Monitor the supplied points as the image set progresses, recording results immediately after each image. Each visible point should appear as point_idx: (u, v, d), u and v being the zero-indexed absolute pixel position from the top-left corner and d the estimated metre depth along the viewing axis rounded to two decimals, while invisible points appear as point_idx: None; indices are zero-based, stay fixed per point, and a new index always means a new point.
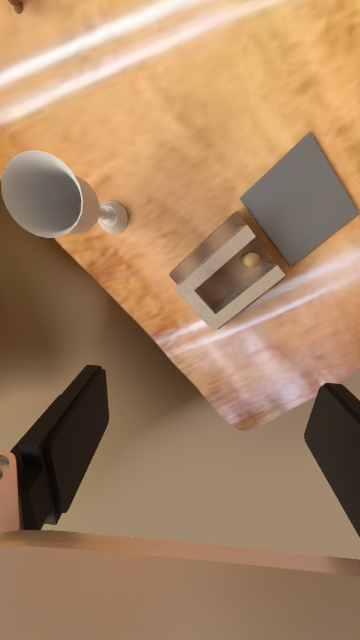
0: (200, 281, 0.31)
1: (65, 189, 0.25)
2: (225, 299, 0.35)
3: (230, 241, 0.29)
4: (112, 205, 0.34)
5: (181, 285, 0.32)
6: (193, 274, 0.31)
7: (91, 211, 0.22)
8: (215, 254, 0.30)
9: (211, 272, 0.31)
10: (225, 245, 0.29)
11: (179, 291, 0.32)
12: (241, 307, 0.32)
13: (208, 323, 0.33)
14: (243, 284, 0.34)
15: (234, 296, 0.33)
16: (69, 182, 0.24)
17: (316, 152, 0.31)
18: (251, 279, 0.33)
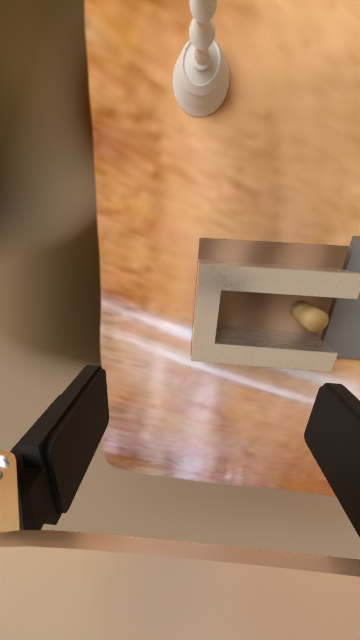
0: (240, 286, 0.18)
1: None
2: (236, 333, 0.22)
3: (327, 274, 0.17)
4: (222, 55, 0.17)
5: (212, 267, 0.17)
6: (242, 269, 0.17)
7: None
8: (294, 272, 0.17)
9: (265, 289, 0.18)
10: (316, 273, 0.17)
11: (202, 272, 0.18)
12: (251, 362, 0.20)
13: (195, 346, 0.20)
14: (270, 334, 0.22)
15: (253, 341, 0.21)
16: None
17: None
18: (285, 338, 0.22)
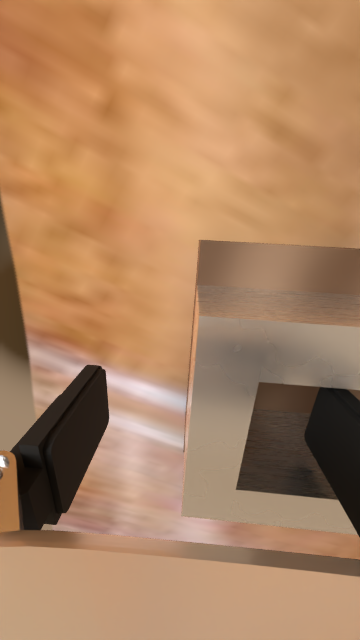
0: (314, 376, 0.06)
1: None
2: (274, 434, 0.11)
3: None
4: None
5: (239, 326, 0.06)
6: (325, 331, 0.06)
7: None
8: None
9: None
10: None
11: (207, 338, 0.06)
12: (318, 525, 0.09)
13: (190, 492, 0.09)
14: None
15: (320, 470, 0.09)
16: None
17: None
18: None
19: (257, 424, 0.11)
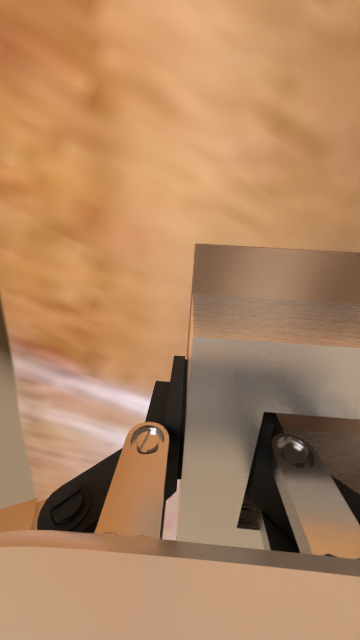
0: (329, 405, 0.05)
1: None
2: None
3: None
4: None
5: (240, 348, 0.05)
6: (343, 354, 0.05)
7: None
8: None
9: None
10: None
11: (203, 362, 0.05)
12: None
13: (184, 530, 0.08)
14: (355, 459, 0.10)
15: None
16: None
17: None
18: None
19: None
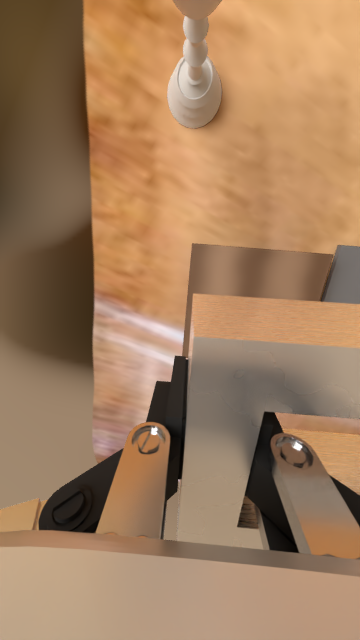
0: (329, 404, 0.05)
1: None
2: None
3: None
4: (214, 71, 0.18)
5: (241, 348, 0.05)
6: (343, 354, 0.05)
7: None
8: None
9: None
10: None
11: (203, 362, 0.05)
12: None
13: (185, 529, 0.08)
14: (354, 459, 0.10)
15: None
16: None
17: None
18: None
19: None
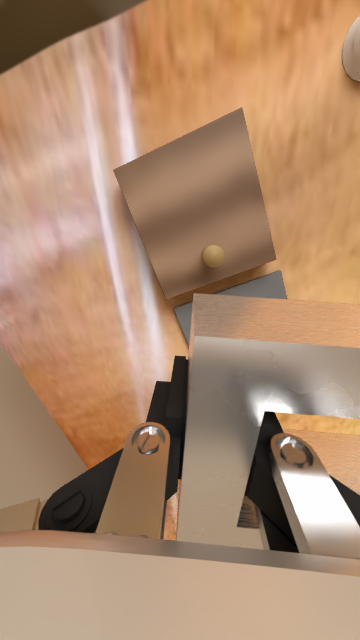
0: (329, 404, 0.05)
1: None
2: None
3: None
4: None
5: (241, 348, 0.05)
6: (343, 354, 0.05)
7: None
8: None
9: None
10: None
11: (204, 361, 0.05)
12: None
13: (184, 529, 0.08)
14: (354, 459, 0.10)
15: None
16: None
17: None
18: None
19: None
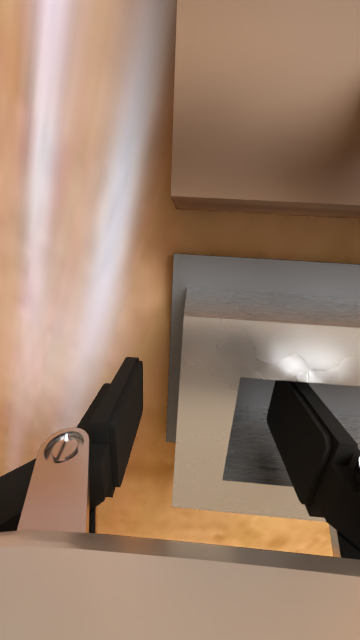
0: (290, 371, 0.07)
1: None
2: (261, 429, 0.11)
3: None
4: None
5: (220, 325, 0.07)
6: (298, 330, 0.06)
7: None
8: None
9: (353, 377, 0.07)
10: None
11: (191, 337, 0.07)
12: (301, 514, 0.09)
13: (179, 483, 0.09)
14: None
15: None
16: None
17: None
18: None
19: (245, 420, 0.12)
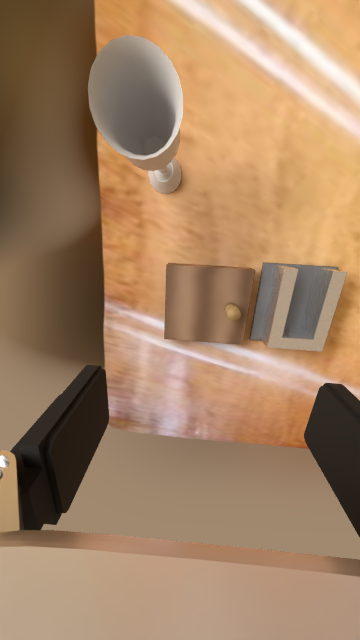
0: (281, 328, 0.35)
1: (155, 113, 0.21)
2: (308, 319, 0.37)
3: (281, 287, 0.32)
4: (174, 166, 0.31)
5: (270, 341, 0.36)
6: (272, 328, 0.35)
7: (162, 160, 0.19)
8: (277, 304, 0.33)
9: (285, 316, 0.34)
10: (280, 292, 0.33)
11: (271, 346, 0.36)
12: (330, 319, 0.34)
13: (312, 349, 0.36)
14: (313, 299, 0.36)
15: (315, 315, 0.35)
16: (164, 113, 0.21)
17: None
18: (317, 292, 0.35)
19: (305, 322, 0.38)
